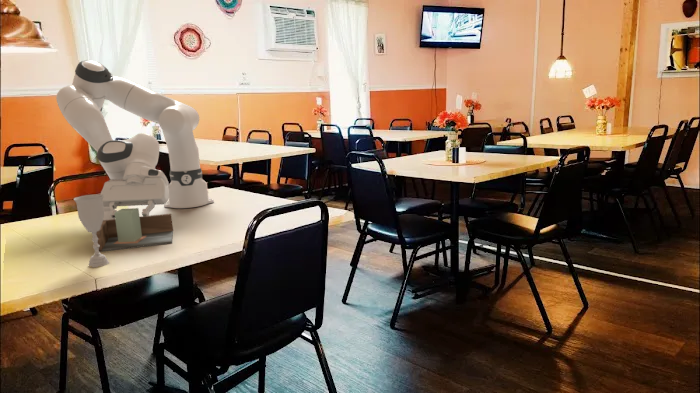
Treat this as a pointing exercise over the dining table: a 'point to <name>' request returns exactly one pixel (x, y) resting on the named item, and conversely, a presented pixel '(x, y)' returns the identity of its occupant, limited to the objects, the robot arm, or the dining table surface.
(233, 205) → the dining table surface
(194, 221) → the dining table surface
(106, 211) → the eye dropper bottle
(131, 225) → the sage block
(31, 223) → the dining table surface
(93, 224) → the chalice
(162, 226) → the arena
